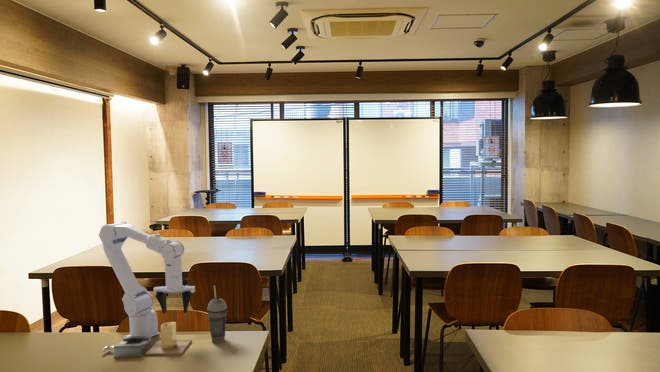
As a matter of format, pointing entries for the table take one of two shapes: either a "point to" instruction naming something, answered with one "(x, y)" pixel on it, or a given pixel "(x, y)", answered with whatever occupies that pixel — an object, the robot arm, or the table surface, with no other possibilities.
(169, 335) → the peg
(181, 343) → the board
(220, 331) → the beverage cup
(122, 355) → the vise
